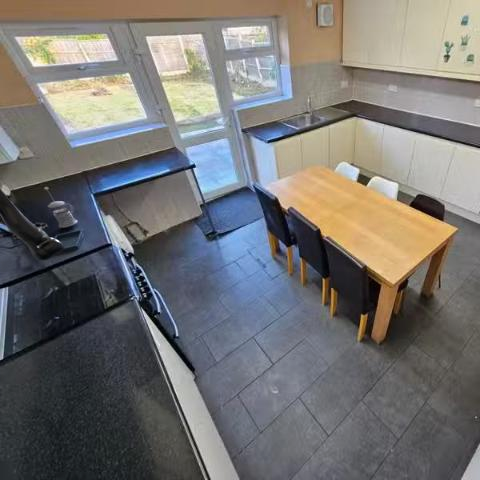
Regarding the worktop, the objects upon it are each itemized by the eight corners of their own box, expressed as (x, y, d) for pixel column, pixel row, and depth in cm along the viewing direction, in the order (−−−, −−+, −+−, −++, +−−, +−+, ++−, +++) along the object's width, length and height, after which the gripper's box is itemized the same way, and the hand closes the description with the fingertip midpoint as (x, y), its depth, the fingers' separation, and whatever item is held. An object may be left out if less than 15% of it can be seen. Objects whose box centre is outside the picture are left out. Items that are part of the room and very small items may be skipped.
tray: (79, 248, 155) (76, 245, 153) (50, 256, 150) (47, 252, 149) (84, 232, 167) (82, 229, 166) (58, 238, 163) (55, 235, 161)
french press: (54, 226, 172) (30, 189, 158) (73, 217, 181) (52, 182, 167) (65, 228, 169) (41, 191, 155) (84, 219, 178) (63, 184, 164)
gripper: (48, 223, 133) (37, 213, 141) (12, 238, 124) (1, 226, 132) (58, 235, 138) (46, 224, 146) (23, 250, 129) (12, 238, 137)
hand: (25, 225), depth 139 cm, fingers closed on brush, 3 cm apart
